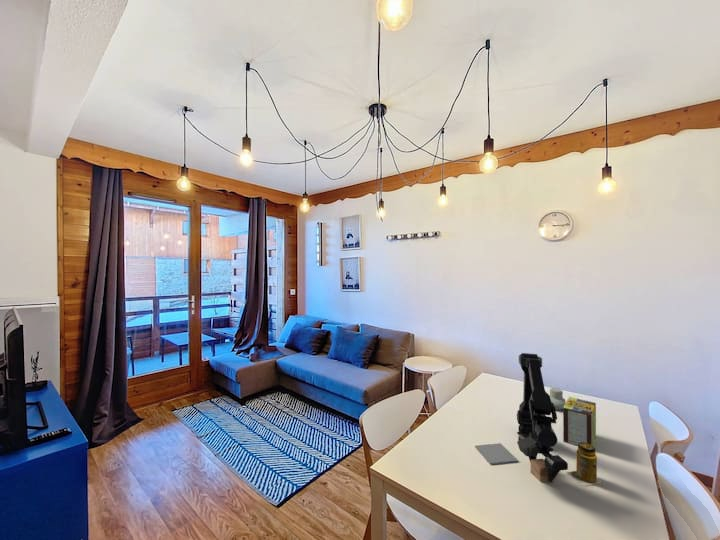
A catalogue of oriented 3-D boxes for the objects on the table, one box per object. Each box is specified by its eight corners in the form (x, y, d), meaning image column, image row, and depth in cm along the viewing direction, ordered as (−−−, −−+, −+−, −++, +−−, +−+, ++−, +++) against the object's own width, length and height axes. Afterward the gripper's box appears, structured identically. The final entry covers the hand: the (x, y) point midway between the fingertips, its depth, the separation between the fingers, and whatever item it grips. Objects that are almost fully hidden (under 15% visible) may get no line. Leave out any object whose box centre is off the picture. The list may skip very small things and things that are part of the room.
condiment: (603, 482, 110) (603, 449, 110) (584, 486, 108) (584, 453, 108) (584, 469, 117) (584, 438, 117) (566, 473, 115) (565, 441, 115)
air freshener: (548, 402, 176) (548, 384, 175) (565, 406, 171) (565, 388, 171) (546, 409, 167) (546, 391, 167) (564, 413, 162) (564, 394, 162)
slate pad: (500, 444, 134) (500, 443, 134) (518, 461, 122) (518, 460, 122) (474, 446, 132) (474, 445, 132) (490, 464, 121) (490, 463, 121)
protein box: (596, 436, 140) (596, 402, 140) (591, 451, 129) (591, 414, 129) (568, 428, 147) (568, 396, 147) (562, 441, 136) (562, 406, 136)
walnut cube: (542, 471, 116) (542, 458, 116) (552, 480, 112) (552, 467, 112) (530, 472, 116) (530, 459, 116) (540, 482, 111) (540, 468, 111)
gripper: (505, 421, 122) (506, 459, 122) (539, 448, 103) (539, 494, 103) (531, 418, 123) (531, 457, 123) (569, 445, 105) (569, 490, 105)
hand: (541, 473), depth 114 cm, fingers open, 9 cm apart
